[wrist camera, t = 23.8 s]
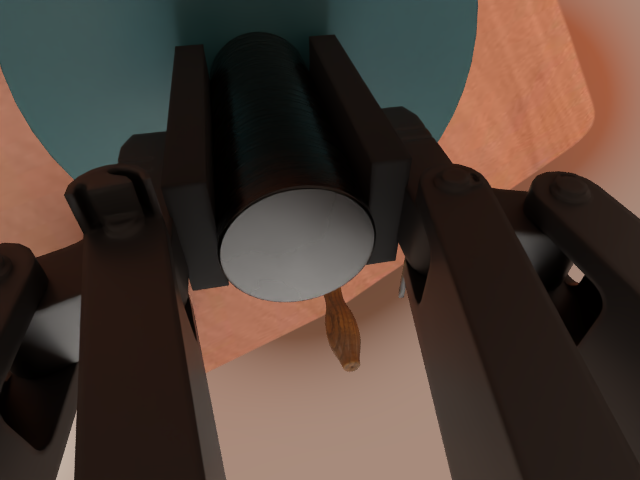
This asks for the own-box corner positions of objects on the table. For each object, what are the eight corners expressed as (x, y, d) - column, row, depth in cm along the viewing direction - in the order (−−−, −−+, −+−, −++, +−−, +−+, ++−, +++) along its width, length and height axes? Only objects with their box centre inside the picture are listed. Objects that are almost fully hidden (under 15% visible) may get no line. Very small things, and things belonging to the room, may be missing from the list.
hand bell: (285, 264, 47) (312, 405, 36) (264, 207, 41) (289, 354, 30) (359, 244, 47) (410, 378, 36) (350, 184, 42) (406, 322, 30)
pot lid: (-141, -260, 9) (-977, -452, 2) (520, -248, 11) (963, -341, 4) (104, 250, 18) (56, 467, 12) (425, 207, 20) (523, 375, 14)
